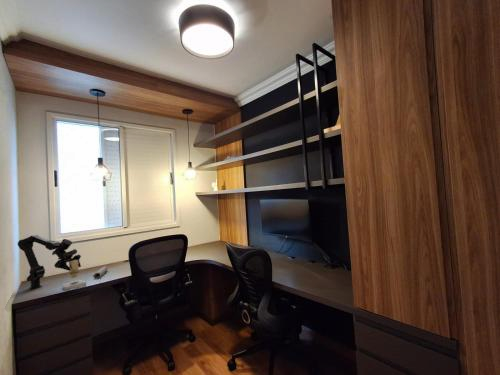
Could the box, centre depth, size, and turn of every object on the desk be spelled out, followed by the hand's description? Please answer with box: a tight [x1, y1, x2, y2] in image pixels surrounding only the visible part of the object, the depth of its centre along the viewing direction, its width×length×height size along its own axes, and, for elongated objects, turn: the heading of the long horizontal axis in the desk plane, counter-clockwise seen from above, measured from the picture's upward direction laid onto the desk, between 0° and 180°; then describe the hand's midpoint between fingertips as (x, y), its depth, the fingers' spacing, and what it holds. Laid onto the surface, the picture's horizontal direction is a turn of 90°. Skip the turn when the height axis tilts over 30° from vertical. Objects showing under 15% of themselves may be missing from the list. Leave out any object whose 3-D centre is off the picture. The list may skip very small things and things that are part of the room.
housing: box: [61, 279, 87, 291], centre depth 181 cm, size 12×12×3 cm
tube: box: [92, 265, 108, 280], centre depth 211 cm, size 5×5×25 cm
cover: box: [67, 260, 80, 279], centre depth 182 cm, size 7×7×12 cm
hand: (75, 268), depth 182 cm, fingers open, 9 cm apart
